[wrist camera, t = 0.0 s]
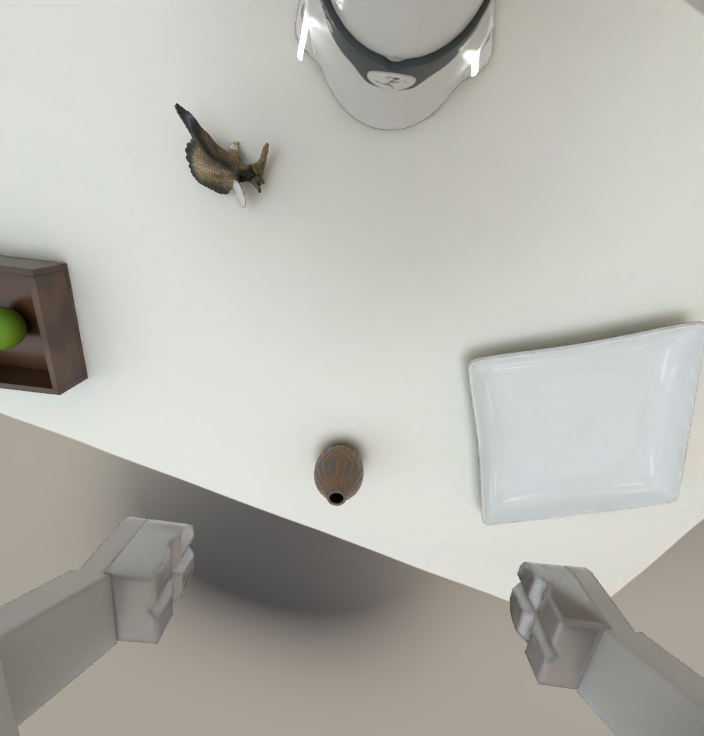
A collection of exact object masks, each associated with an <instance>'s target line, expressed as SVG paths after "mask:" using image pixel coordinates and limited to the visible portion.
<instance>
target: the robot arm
mask: <svg viewBox="0 0 704 736" xmlns="http://www.w3.org/2000/svg"><path fill="white" fill-rule="evenodd" d="M494 6H495V0H300V3H299V8H298V13H297V18H296V23H295V31H296V37H297V40H298V42H299V43H300V44H299V49H298V55H297V57H298V59H299V60H302V57H303V51H304V50H305V51H306V52H307V53H308V54H309V55H310V56H311V57H312V58H313V59H314V60H315V61H316V62H317V63H318V65H319V66H320V68H321V70H322V72H323V75H324V77H325V79H326V82H327V84H328V86H329V88H330V90H331V92H332V94H333V95H334V97H335V98H336V100H337V101H338V103H339V104H340V105H341V106H342V107H343V109H344V110H345V111H346V112H347V113H349V114H350V115H351V116H352V117H353V118H355V119H356V120H358V121H360V122H361V123H363V124H365V125H368V126H370V127H373V128H377V129H384V130H396V129H403V128H407V127H410V126H413V125H415V124H417V123H419V122H421V121H423V120H424V119H426V118H428V117H429V116H430V115H432V114H433V113H434V112H435V111H436V110H437V109H438V108H439V107H440V106H441V105H442V104H443V103H444V102H445V101H446V99H447V98H448V97H449V95H450V94H451V93H452V92H453V90H454V89H455V88H456V87H457V86H458V85H459V84H460V83H461V82H462V81H464V80H466V79H468V78H469V77H471V76H475V75H476V74H477V72H479V71H480V70H481V69H483V68H484V67H485V65H486V64H487V62H488V60H489V58H490V56H491V53H492V42H493V24H494ZM192 540H193V527H192V526H191V525H189V524H182V523H175V522H167V521H160V520H153V519H150V520H148V519H142V518H135V517H128V518H127V519H124V520H123V521H122V522H121V523H120V524H119V525H118V526H117V527H116V529H115V530H114V531H113V532H112V533H111V534H110V536H108V537H107V539H106V540H105V541H104V542H103V543H102V544H101V545H100V547H99V548H98V549H97V550H96V551H95V552H94V553H93V554H92V556H91V557H90V558H89V559H88V560H87V561H86V562H85V563H84V565H82V567H81V568H80V569H79V570H78V571H73V570H70V571H68V572H66V573H65V574H63V575H61V576H59V577H57V578H55V579H53V580H51V581H49V582H47V583H45V584H43V585H41V586H39V587H37V588H35V589H33V590H31V591H30V592H28V593H26V594H24V595H22V596H20V597H18V598H16V599H14V600H12V601H10V602H8V603H6V604H4V605H2V606H0V736H20V735H19V731H18V726H19V725H20V724H21V723H23V722H24V721H25V720H26V719H27V718H28V717H30V716H31V715H32V714H33V713H34V712H36V711H37V710H38V709H39V708H40V707H42V706H43V705H44V704H45V703H46V702H47V701H49V700H50V699H51V698H52V697H53V696H55V695H56V694H57V693H58V692H59V691H61V690H62V689H63V688H64V687H65V686H67V685H68V684H69V683H70V682H71V681H73V680H74V679H75V678H76V677H77V676H79V675H80V674H81V673H82V672H83V671H85V669H87V668H88V667H89V666H90V665H92V664H93V663H94V662H95V661H96V660H98V659H99V658H100V657H101V656H102V655H104V654H105V653H106V652H107V651H108V650H109V649H111V648H112V647H113V646H114V645H115V644H117V641H129V642H141V643H155V644H157V643H158V642H159V640H160V638H161V636H162V634H163V632H164V630H165V628H166V626H167V624H168V623H169V621H170V619H171V617H172V615H173V602H175V601H176V600H178V599H179V598H180V597H182V596H183V593H184V591H185V589H186V588H187V585H188V583H189V580H190V576H191V573H192V569H193V563H194V553H193V551H192V550H191V549H190V547H189V545H190V543H191V542H192ZM518 576H519V578H520V581H521V582H520V583H519V584H518V585H516V586H515V587H514V588H513V589H512V593H511V597H510V613H511V617H512V622H513V624H514V627H515V629H516V632H517V633H518V634H519V635H520V636H521V637H522V638H523V639H524V640H525V641H526V642H527V647H526V650H525V654H526V655H527V658H528V661H529V663H530V665H531V668H532V670H533V673H534V675H535V677H536V679H537V682H538V684H542V685H549V686H556V687H563V688H570V689H577V692H578V694H579V695H580V696H581V697H582V698H583V699H584V700H585V701H586V703H587V704H588V705H589V706H590V707H591V708H592V709H593V711H594V712H595V713H596V714H597V715H598V716H599V717H600V719H601V720H602V721H603V722H604V723H605V724H606V725H607V726H608V728H609V729H610V730H611V731H612V732H613V733H614V734H615V736H704V678H703V677H701V676H700V675H699V674H697V673H696V672H695V671H693V670H692V669H691V668H689V667H688V666H687V665H685V664H684V663H683V662H681V661H680V660H679V659H677V658H676V657H675V656H673V655H672V654H670V653H669V652H668V651H666V650H665V649H664V648H662V647H661V646H660V645H658V644H657V643H655V642H654V641H653V640H652V639H650V638H649V637H647V636H646V635H645V634H643V633H641V632H635V631H634V629H633V628H632V627H631V625H630V624H629V623H628V621H627V620H626V618H625V617H624V616H623V614H622V613H621V612H620V610H619V609H618V608H617V606H616V605H615V603H614V602H613V601H612V599H611V598H610V597H609V595H608V594H607V592H606V591H605V590H604V588H603V587H602V586H601V584H600V583H599V582H598V580H597V579H596V577H595V576H594V575H593V573H592V572H591V571H589V570H588V569H587V568H583V567H572V566H560V565H550V564H540V563H530V562H524V563H523V564H522V565H521V566H520V568H519V571H518Z"/></svg>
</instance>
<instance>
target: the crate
mask: <svg viewBox="0 0 704 736" xmlns="http://www.w3.org/2000/svg"><path fill="white" fill-rule="evenodd" d="M0 306H4V307H7V308H10V309H12V310H14V311H16V312H17V313H19V314H20V315H21V316H22V317H23V319H24V320H25V322H26V325H27V334H26V337H25V338H24V340H23V341H22V342H21V343H20V344H18V345H17V346H15V347H13V348H10V349H5V350H0V388H5V389H13V390H22V391H30V392H39V393H47V394H56V395H61V394H62V393H64V392H66V391H67V390H69V389H71V388H72V387H74V386H76V385H77V384H79V383H81V382H82V381H84V380H86V379H87V372H86V367H85V361H84V356H83V350H82V345H81V340H80V334H79V329H78V323H77V318H76V312H75V307H74V301H73V296H72V291H71V285H70V280H69V274H68V269H67V264H66V263H58V262H50V261H42V260H34V259H26V258H18V257H10V256H2V255H0Z"/></svg>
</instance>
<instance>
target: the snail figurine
mask: <svg viewBox="0 0 704 736" xmlns="http://www.w3.org/2000/svg"><path fill="white" fill-rule="evenodd" d="M26 334H27V325H26V322H25V320H24V319H23V317H22V316H21V315H20V314H19V313H17V312H16V311H14V310H12V309H10V308H7V307H4V306H0V350H5V349H10V348H13V347H15V346H17V345H18V344H20V343H21V342H22V341H23V340H24V338H25V337H26Z"/></svg>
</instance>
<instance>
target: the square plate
mask: <svg viewBox="0 0 704 736" xmlns="http://www.w3.org/2000/svg"><path fill="white" fill-rule="evenodd" d="M703 350H704V322H700V321H698V322H689V323H683V324H677V325H671V326H666V327H661V328H656V329H652V330H647V331H642V332H637V333H632V334H627V335H622V336H617V337H612V338H606V339H601V340H596V341H590V342H584V343H578V344H572V345H565V346H559V347H552V348H544V349H537V350H529V351H521V352H513V353H505V354H498V355H491V356H485V357H479V358H474V359H472V360H470V361H469V364H468V374H469V385H470V393H471V400H472V407H473V414H474V421H475V428H476V437H477V446H478V456H479V472H480V497H481V514H482V520H483V522H484V524H486V525H497V524H506V523H515V522H524V521H533V520H542V519H550V518H558V517H567V516H575V515H583V514H591V513H600V512H608V511H615V510H623V509H631V508H638V507H646V506H653V505H661V504H667V503H672V502H674V501H676V500H677V498H678V495H679V490H680V485H681V480H682V475H683V469H684V463H685V457H686V451H687V445H688V439H689V433H690V427H691V421H692V415H693V409H694V403H695V397H696V392H697V386H698V380H699V373H700V368H701V362H702V357H703Z"/></svg>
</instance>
